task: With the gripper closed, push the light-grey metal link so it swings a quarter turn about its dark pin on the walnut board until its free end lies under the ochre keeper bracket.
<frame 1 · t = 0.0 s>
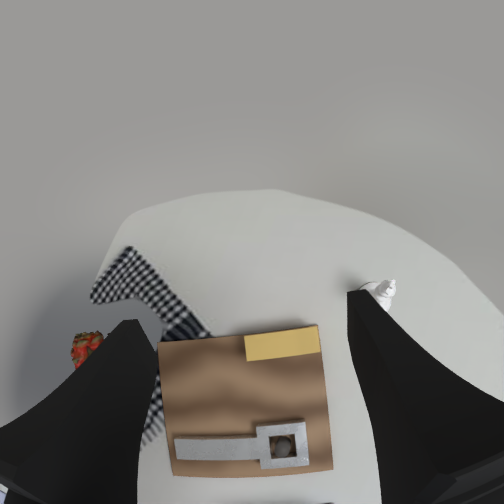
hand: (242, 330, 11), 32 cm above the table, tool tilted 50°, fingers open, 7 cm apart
board: (243, 408, 39), on the table
chess piece: (373, 300, 41), on the table
keeper: (289, 344, 41), resting on board
link: (240, 447, 36), point 2 cm above the table, hinge at 90.0°
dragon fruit: (116, 364, 44), on the table
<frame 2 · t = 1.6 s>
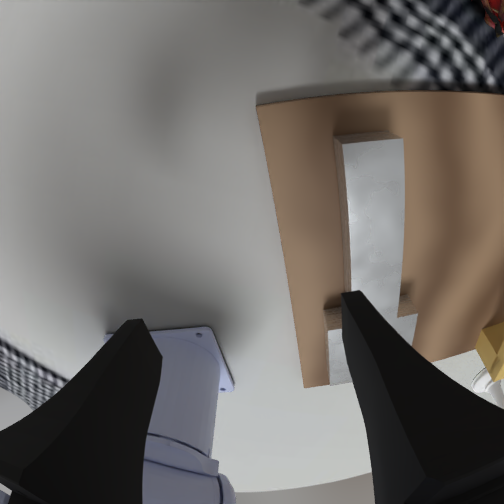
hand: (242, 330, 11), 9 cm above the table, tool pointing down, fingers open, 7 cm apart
board: (429, 255, 20), on the table
chess piece: (487, 374, 28), on the table
keeper: (492, 307, 22), resting on board
link: (371, 280, 18), point 2 cm above the table, hinge at 90.0°
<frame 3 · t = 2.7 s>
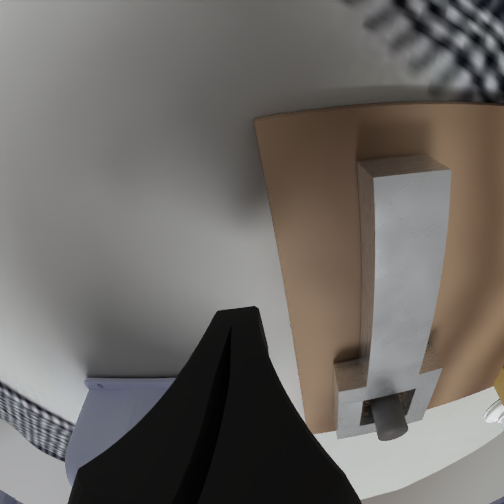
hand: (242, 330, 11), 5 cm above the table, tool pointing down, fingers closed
board: (457, 297, 16), on the table
chess piece: (500, 404, 24), on the table
link: (393, 336, 14), point 2 cm above the table, hinge at 90.0°
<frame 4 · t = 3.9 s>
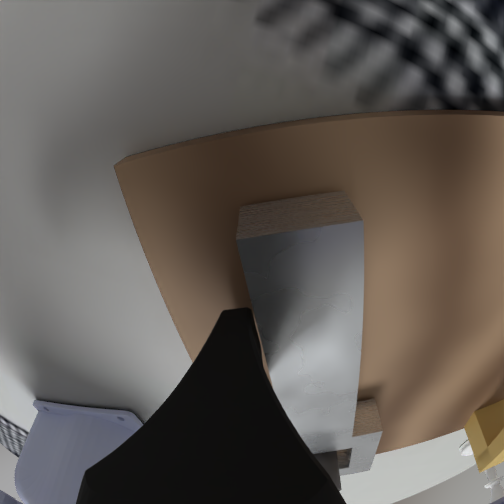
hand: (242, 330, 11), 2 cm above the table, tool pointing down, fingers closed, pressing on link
board: (410, 348, 14), on the table
chess piece: (479, 437, 22), on the table
keeper: (491, 385, 17), resting on board
link: (316, 398, 12), point 2 cm above the table, hinge at 90.0°, touching gripper
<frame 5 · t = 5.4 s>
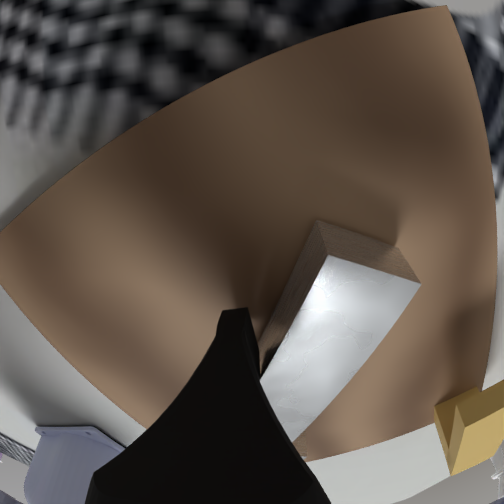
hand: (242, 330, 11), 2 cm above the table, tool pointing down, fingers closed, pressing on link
board: (283, 353, 14), on the table
chess piece: (483, 420, 20), on the table
keeper: (451, 373, 15), resting on board
link: (268, 410, 13), point 2 cm above the table, hinge at 46.5°, touching gripper
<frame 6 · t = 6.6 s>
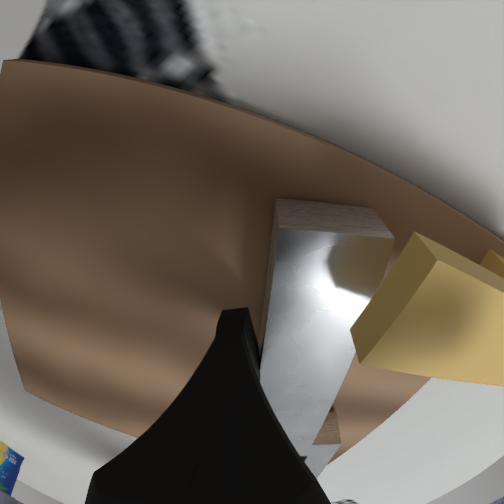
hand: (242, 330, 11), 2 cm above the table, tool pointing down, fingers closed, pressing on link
board: (213, 349, 14), on the table
keeper: (440, 256, 12), resting on board
link: (288, 401, 13), point 2 cm above the table, hinge at 16.2°, touching gripper
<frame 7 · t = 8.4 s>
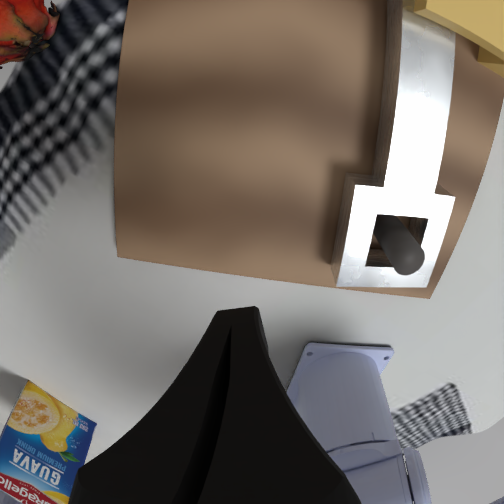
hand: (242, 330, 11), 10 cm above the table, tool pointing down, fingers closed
board: (321, 119, 16), on the table
keeper: (455, 31, 12), resting on board
beverage box: (56, 407, 34), on the table
link: (410, 139, 14), point 2 cm above the table, hinge at 6.9°
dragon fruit: (31, 2, 12), on the table
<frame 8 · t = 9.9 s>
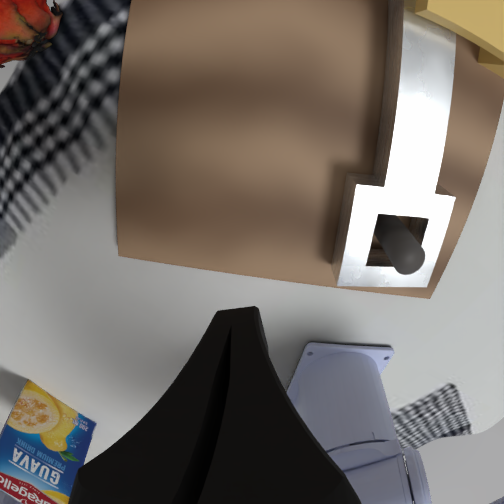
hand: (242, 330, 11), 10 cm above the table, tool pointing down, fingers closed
board: (322, 120, 16), on the table
keeper: (455, 32, 13), resting on board
beverage box: (56, 407, 34), on the table
link: (411, 139, 14), point 2 cm above the table, hinge at 6.9°
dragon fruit: (34, 1, 12), on the table
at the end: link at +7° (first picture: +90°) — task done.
